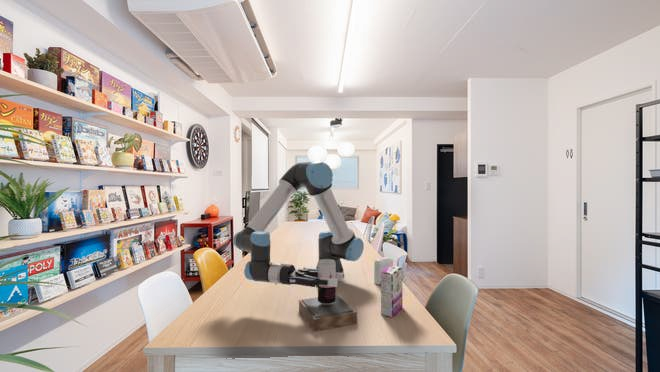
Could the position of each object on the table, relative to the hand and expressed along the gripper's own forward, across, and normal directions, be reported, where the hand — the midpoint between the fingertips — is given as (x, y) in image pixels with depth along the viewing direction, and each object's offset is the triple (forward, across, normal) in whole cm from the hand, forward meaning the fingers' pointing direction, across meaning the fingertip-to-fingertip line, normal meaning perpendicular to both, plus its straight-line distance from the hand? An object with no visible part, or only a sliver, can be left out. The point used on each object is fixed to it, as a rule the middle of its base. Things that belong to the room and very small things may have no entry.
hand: (339, 279), depth 114 cm
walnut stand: (-5, 0, -14) cm, 15 cm away
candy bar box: (+17, -12, -14) cm, 26 cm away
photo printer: (+10, -45, -14) cm, 48 cm away
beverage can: (-5, 0, -9) cm, 10 cm away
